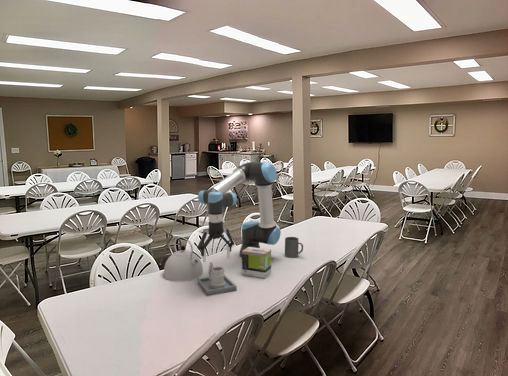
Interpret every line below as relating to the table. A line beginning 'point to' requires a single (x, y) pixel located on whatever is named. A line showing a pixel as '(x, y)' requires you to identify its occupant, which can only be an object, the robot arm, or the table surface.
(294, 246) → the mug
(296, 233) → the table surface
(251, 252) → the tea box
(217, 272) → the mug
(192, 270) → the kettle
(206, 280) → the tray
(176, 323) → the table surface
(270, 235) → the robot arm
